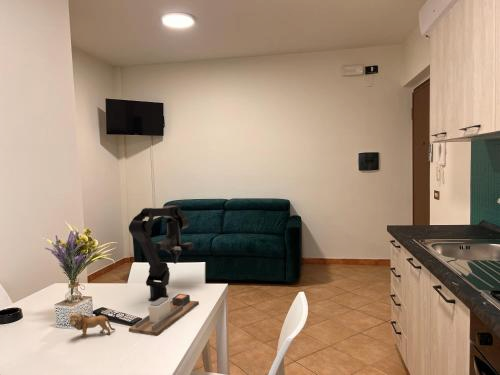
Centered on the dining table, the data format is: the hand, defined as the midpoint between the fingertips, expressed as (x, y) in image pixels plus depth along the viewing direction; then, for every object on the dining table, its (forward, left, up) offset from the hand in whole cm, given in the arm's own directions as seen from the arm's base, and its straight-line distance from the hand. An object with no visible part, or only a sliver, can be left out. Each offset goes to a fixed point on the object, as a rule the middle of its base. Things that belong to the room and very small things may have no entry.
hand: (175, 263), depth 179 cm
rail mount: (+15, -31, -12) cm, 36 cm away
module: (+15, -35, -11) cm, 40 cm away
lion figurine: (-2, -52, -12) cm, 54 cm away
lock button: (+15, -20, -11) cm, 27 cm away
